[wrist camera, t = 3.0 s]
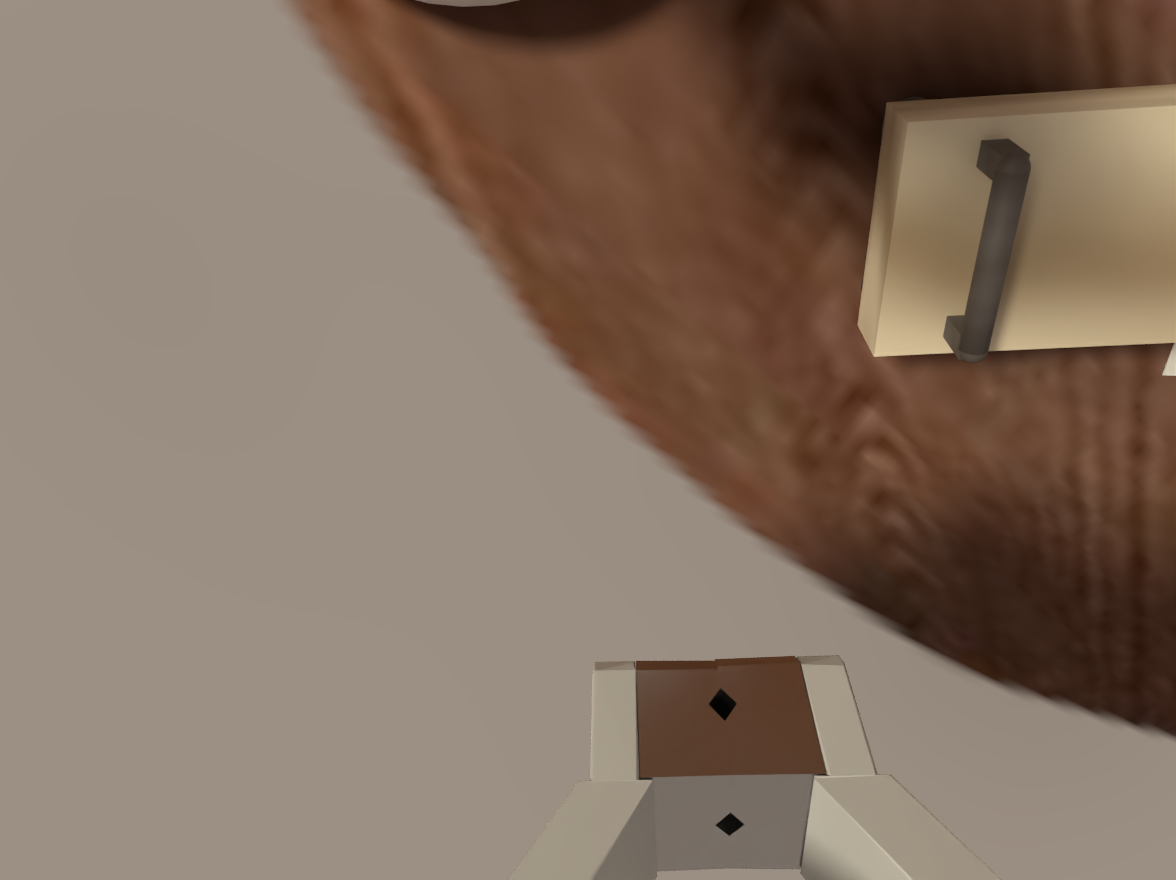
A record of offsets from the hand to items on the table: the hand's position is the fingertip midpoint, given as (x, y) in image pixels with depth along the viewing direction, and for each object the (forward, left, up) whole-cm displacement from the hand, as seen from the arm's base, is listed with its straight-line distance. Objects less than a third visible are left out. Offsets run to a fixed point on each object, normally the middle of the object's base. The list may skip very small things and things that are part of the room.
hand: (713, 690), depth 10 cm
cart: (0, +10, -16) cm, 19 cm away
